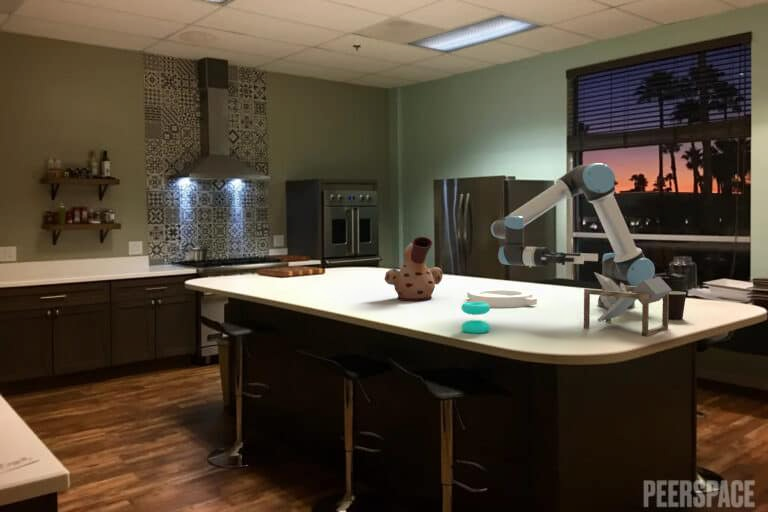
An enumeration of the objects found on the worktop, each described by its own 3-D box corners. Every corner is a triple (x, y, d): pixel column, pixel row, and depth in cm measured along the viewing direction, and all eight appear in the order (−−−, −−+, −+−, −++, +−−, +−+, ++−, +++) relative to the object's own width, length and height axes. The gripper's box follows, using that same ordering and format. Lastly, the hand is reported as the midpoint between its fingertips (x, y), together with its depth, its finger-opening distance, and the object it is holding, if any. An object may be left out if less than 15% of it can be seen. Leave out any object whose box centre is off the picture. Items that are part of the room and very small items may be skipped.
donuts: (480, 300, 235) (495, 304, 226) (480, 327, 236) (495, 332, 227) (456, 302, 232) (470, 306, 222) (456, 330, 232) (470, 335, 223)
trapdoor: (609, 334, 228) (596, 319, 231) (627, 327, 239) (615, 313, 242) (655, 294, 216) (641, 278, 219) (672, 289, 227) (659, 275, 230)
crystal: (625, 306, 241) (598, 276, 247) (637, 290, 229) (608, 258, 236) (604, 319, 238) (578, 288, 245) (615, 303, 227) (587, 271, 233)
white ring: (538, 307, 283) (538, 296, 282) (473, 308, 283) (473, 297, 283) (525, 298, 311) (525, 288, 310) (466, 299, 311) (466, 289, 311)
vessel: (431, 294, 326) (430, 234, 324) (455, 300, 306) (454, 236, 304) (379, 298, 313) (378, 236, 311) (400, 304, 294) (400, 238, 291)
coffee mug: (684, 321, 244) (684, 294, 243) (659, 319, 249) (659, 293, 248) (688, 316, 254) (688, 291, 253) (664, 314, 258) (665, 289, 258)
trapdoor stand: (583, 328, 233) (584, 289, 232) (607, 321, 246) (607, 284, 245) (646, 336, 217) (647, 294, 216) (668, 328, 231) (668, 289, 230)
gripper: (550, 263, 262) (602, 266, 249) (522, 269, 243) (577, 271, 230) (550, 245, 262) (603, 246, 248) (522, 248, 242) (577, 250, 229)
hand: (590, 258), depth 239 cm, fingers open, 13 cm apart
